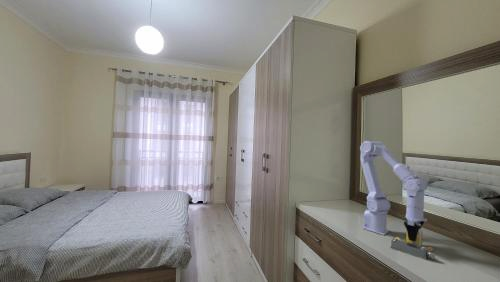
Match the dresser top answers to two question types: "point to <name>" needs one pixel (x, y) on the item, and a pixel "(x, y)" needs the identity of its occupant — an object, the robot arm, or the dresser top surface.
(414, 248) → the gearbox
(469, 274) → the dresser top surface
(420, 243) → the supplement bottle
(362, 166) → the robot arm
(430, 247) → the guard rails
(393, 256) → the dresser top surface
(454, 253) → the dresser top surface
